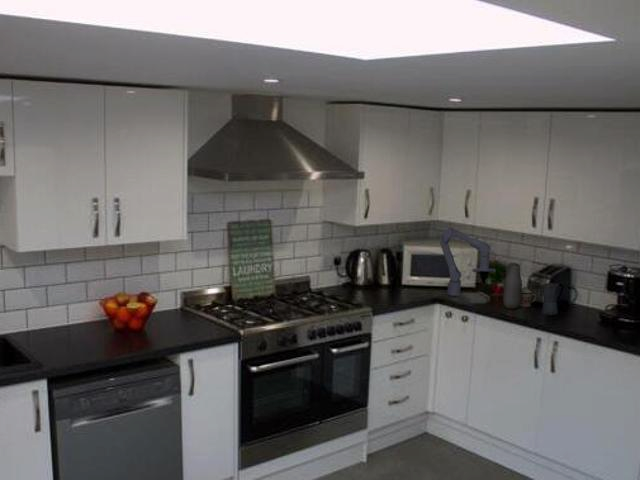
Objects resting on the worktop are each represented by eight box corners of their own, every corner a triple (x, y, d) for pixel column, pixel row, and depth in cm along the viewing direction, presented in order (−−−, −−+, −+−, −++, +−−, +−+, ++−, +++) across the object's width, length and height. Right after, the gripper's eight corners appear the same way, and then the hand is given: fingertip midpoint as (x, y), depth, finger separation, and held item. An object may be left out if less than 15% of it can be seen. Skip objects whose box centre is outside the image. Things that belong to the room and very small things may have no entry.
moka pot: (534, 312, 396) (536, 279, 394) (555, 310, 402) (557, 278, 399) (544, 316, 388) (547, 282, 385) (566, 314, 393) (568, 281, 390)
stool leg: (475, 295, 435) (476, 291, 435) (480, 295, 436) (480, 291, 435) (485, 301, 420) (485, 296, 420) (490, 301, 421) (490, 296, 420)
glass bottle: (512, 306, 411) (515, 261, 407) (523, 310, 401) (526, 264, 397) (499, 307, 407) (502, 261, 403) (509, 311, 398) (512, 264, 394)
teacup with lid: (518, 307, 409) (520, 288, 407) (514, 303, 418) (515, 285, 416) (538, 307, 409) (539, 288, 408) (533, 303, 418) (534, 285, 417)
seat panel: (461, 296, 433) (461, 292, 433) (475, 296, 434) (476, 292, 434) (470, 303, 415) (470, 299, 415) (486, 303, 417) (486, 299, 416)
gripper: (475, 263, 425) (474, 284, 427) (497, 263, 426) (496, 284, 428) (472, 261, 432) (470, 282, 434) (493, 261, 433) (492, 282, 435)
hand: (483, 283), depth 431 cm, fingers closed
